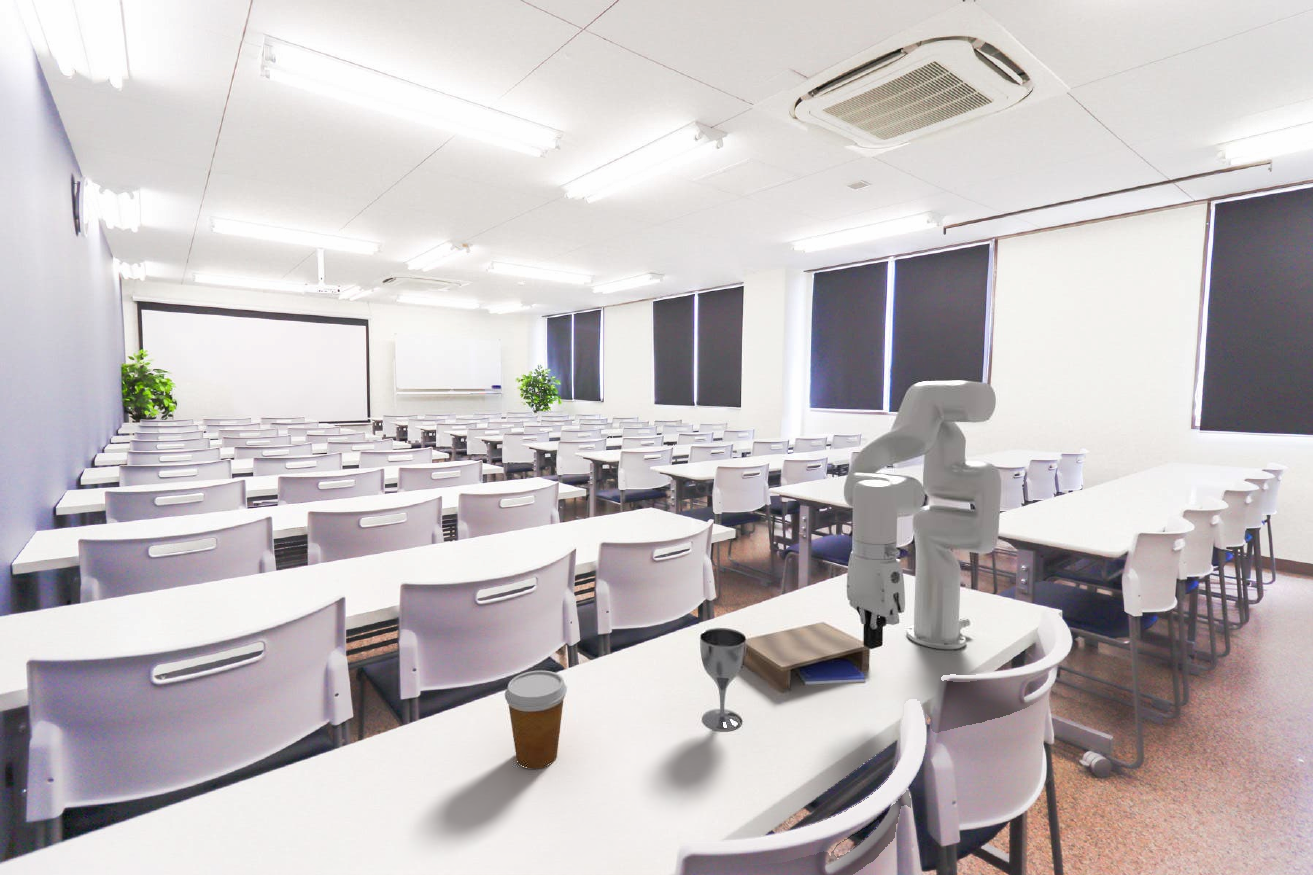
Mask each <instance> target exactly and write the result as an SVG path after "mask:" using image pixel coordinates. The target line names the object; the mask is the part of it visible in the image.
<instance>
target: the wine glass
mask: <svg viewBox="0 0 1313 875" xmlns="http://www.w3.org/2000/svg"><path fill="white" fill-rule="evenodd" d="M746 639H747V638H746V635H745V634H744V633H743V632H740V631H738V630H736V629H732V628H726V627H716V628H715V627H714V628H710V629H706V630H704V631H702V632H701V633H700V637H699V640H700V641H699V645H700V646H699V648H700V657H701V658H700V659H701V661H702V665H703V668H704V670H705V672H706V674H707V675H708V676H709V677H710V678H711V679H712V680H713V682H714V683H715V685H716V686H717V689H718V694H719V695H718V696H719V708H714V709H710V710H708V711H706V712H705V713H703V715H702V717H701V721H702V723H703V724H704V726H706V727H707V728H709V729H711V730H713V731H717V732H732V731H733V732H734V731H736V730H737V729H739V728H740V727H741V726H742V725H743V718H742V717H741V715H740V714H739V713H737V712H735V711H733V710H730V709H727V708H725V705H726V704H725V703H726V702H725V701H726V693H727V690H728V686H729V685H730V684H731V683H732V681H733V680H734V679H736V678H737V677H738V676H739V675H740V673H741V672H742V669H743V667H744V665H743V664H744V659H745V653H746Z"/></svg>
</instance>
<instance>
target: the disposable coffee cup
mask: <svg viewBox="0 0 1313 875" xmlns="http://www.w3.org/2000/svg"><path fill="white" fill-rule="evenodd" d="M567 692H568V687H567V685H566V683H565V681H564V678H563V676H562V675H561V674H559V673H557V672H553V671H549V670H532V671H527V672H524V673H521V674H519V675H516V676H514V678H512V679H511V680H510V681H509V682H508V684H507V688H506V690H505V691H504V699H505V700H506V703H507V705H508V709H509V717H510V723H511V731H512V737H513V743H514V749H515V750H514V751H515V758H516V762H517V761H518V763H519V764H520V765H522V766H524V767H527V768H526V769H528V768H531V769H530V770H537V768H539V769H542V768H541V767H543V768H545V767H544V766H546V767H547V765H548V764H550V763H551V764H552V762H553V761H554V762H555V760H556V759H557V758H558V750H559V749H558V748H559V741H560V740H559V739H560V733H561V724H562V723H561V722H562V716H563V707H564V699H565V697H566V695H567ZM518 763H517V764H518ZM519 764H518V765H519ZM551 764H550V765H551ZM520 765H519V766H520ZM522 766H521V767H522ZM548 766H549V765H548ZM524 767H523V768H524Z"/></svg>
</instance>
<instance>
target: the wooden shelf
mask: <svg viewBox="0 0 1313 875" xmlns="http://www.w3.org/2000/svg"><path fill="white" fill-rule="evenodd" d="M870 652H871V649H869V648H868V647H866V646H864V645H863V640H860V639H859V638H857V637H855V636H852V635H850V634H849V633H846V632H844V631H842V630H840V629H838V628H836V627H834V626H832V625H831V624H828V623H826V622H824V621H822V622H817V623H811V624H808V625H804V626H799V627H793V628H789V629H786V630H780V631H777V632H771V633H767V634H763V635H759V636H754V637H749V638H746V653H745V659H744V664H743V667H745V668H747V669H748V670H749V671H751V672H752V673H753V674H755V675H756V676H758V677H760V679H762V680H764V681H765V682H766V683H767V684H769V685H770V686H772V687H773V688H775V689H776V690H777V691H779V692H781V693H784V692H789V691H790V690H791V670H792V669H794V668H797V667H801V666H805V665H809V664H813V663H816V662H820V661H829V660H832V659H834V658H839V659H840V660H850V661H851V662H852V663H853V664H854V665H855V667H856V668H857V669H858V670H859V669H860V671H864V670H867V669H870V657H871V655H870Z"/></svg>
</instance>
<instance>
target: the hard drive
mask: <svg viewBox="0 0 1313 875" xmlns="http://www.w3.org/2000/svg"><path fill="white" fill-rule="evenodd" d="M793 669H794V670H795V672H796V673H797V675H798V676H799V677H800V679H801V680H802V681H803V683H804V684H805V685H818V684H820V685H821V684H841V683H842V684H843V683H844V684H845V683H860V682H861V683H862V682H863V683H864V682H866V676H865V675H864V674H863V673H862V671H861V670H859V668H857V667H856V666H855V665H854V664H853V663H852V662H851V661H850V660H843V659H837V660H836V659H835V660H834V659H833V660H832V659H829V660H824V661H820V662H816V663H813V664H809V665H805V666H801V667H797V668H793Z"/></svg>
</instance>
